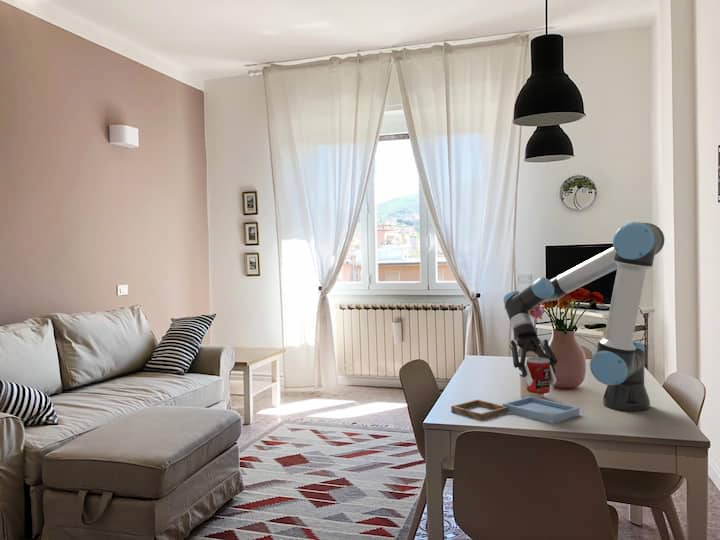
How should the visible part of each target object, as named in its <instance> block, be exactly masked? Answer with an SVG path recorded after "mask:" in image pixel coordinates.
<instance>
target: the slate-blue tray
mask: <svg viewBox="0 0 720 540" xmlns="http://www.w3.org/2000/svg"><path fill="white" fill-rule="evenodd" d="M502 406H506V407H508V413H510V414H514V415H517V416H521V417H525V418H528V417H529V418H528V419H532V418H533V420H536V419H537V421H540V422H544V423H548V424H551V423H553V424H556V423H559V422H562V421H565V420H564V419H566V420H568V418H569V419H571V417H572V418H574V416H575V417H578V416H580V407H579V406H578V407H577V406H573V405H568V404H564V403H561V402H560V403H559V402H555V401H550V400H546V399H544V398H542V399H539V398H534V397H526V398H520V399H516V400H512V401H508V402H504V403H502ZM577 415H578V416H577ZM561 420H562V421H561ZM558 421H559V422H558ZM555 422H556V423H555Z"/></svg>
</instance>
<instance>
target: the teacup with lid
mask: <svg viewBox="0 0 720 540" xmlns="http://www.w3.org/2000/svg"><path fill="white" fill-rule="evenodd" d="M519 378H520V380H519V389H520V390H519V393H520V394H519V395H520V397H521V399H523V398H526V397H534V398H539V399H544V397H545V394H536V393H531V392H528V391H527V380H526V377H525V376H523V375H522V372H521V371H520V372H519Z"/></svg>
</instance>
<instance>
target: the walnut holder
mask: <svg viewBox="0 0 720 540" xmlns="http://www.w3.org/2000/svg"><path fill="white" fill-rule="evenodd" d="M475 406H476V407H481V408H485V409H488V408H489V410H488V411H484V412H482V413H480V412H478V411H473V410H470V408H471V407H472V408H476V407H475ZM450 411H451V413H454V414H458V415H461V416H464V417H468V418H471V419H476V420H479V421H484V420H488V419H491V417H492V418H495V417H498V416H501V415H502V416H503V415H505V414H508V413H509V412H508V407H506V406H503V404H497V403H494V402H489V401H485V400H481V399H474V400H470V401H468V402H462V403H458V404H455V405H451V410H450Z"/></svg>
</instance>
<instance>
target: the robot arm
mask: <svg viewBox="0 0 720 540" xmlns="http://www.w3.org/2000/svg"><path fill="white" fill-rule="evenodd" d="M664 245H665V234H664V232H663V231H662V229H661V228H660V227H658V225H655V224H653V223H649V222H642V221H641V222H640V221H639V222H638V221H634V222H633V221H632V222H629V223H626V224H624V225H622V226H620V227H618V229H617V230H616V232H615V233H614V235H613V237H612V247H610V248H608V249H606V250H604V251H603V252H600V253H598V254H596V255H594V256H592V257H591V258H589V259H587V260H585V261H583V262H582V263H579V264H577V265H576V266H574V267H572V268H570V269H568V270H566V271H564V272H563V273H560V274H558V275H557V276H555V277H552V278H551V279H548V278H546V277H545V276H541V277H539V278H538V279H536V280H534V281H533V282H532V283H530V284H529V285H528V286H527V287H525V288H524V289H523V290H522V291H519V290H512V291H511V292H507V293H506V294H505V295H504V297H503V305H504V308H505V309H504V310H505V311H506V314H507V317H508V319H509V322H510V326H511V329H512V331H513V335H514V337H515V340H510V343H509V348H510V349H511V355H512V363H513V368H515V369H516V368H517V369H518V370H519V371H520V372H522V375H523V376H525V377H526V380H527V383H528V386H531V384H532V382H533V380H532V377H531V374H530V371H529V368H528V366H527V365H526V360H527V358H526V357H527V352H533V353H534V354H535V355H537V356H538V357H541V358H547V359H549V360H550V385H551V386H554V385H556V382H557V378H556V375H555V374H556V369H555V366H556V365H557V363H558V360H557V358H556V356H555V354H554V353H553V350H552V348H551V347H550V345H549V340H548V339H544V340H541V339H540V338H539V337H538V334H537V331H536V328H535V325H534V322H533V321H532V316H531V315H530V311H531V310H533V309H535V308H536V307H537V306H539V305H540V304H541V303H545V302H551V301H552V302H553V301H557V300H560V299H561V298H563V297H564V296H565V295H568V294H569V293H571V292H573V291H575V290H577V289H580V288H582V287H583V286H585V285H588V284H590V283H591V282H593V281H596V280H597V279H600V278H601V277H603V276H605V275H607V274H610V273H612V272H614V271H616V274H615V277H614V278H615V279H614V284H613V289H612V295H611V299H610V306H609V310H608V315H607V321H606V326H605V331H604V335H603V337H601V338H599V339H598V343H597V349H596V353H594V354H593V356H592V357H591V359H590V361H589V369H590V372H591V374H592V376H593V377H594V379H595V380H597V381H598V382H599V383H601V384H603V385H606V388H605V391H604V394H603V397H602V405H603V406H605V407H607V408H609V409H614V410H618V411H626V412H627V411H628V412H642V411H647V410H649V409H650V408H651V401H650V397H649V394H648V392H647V388H646V386H645V354H646V351H645V345H644V343H643V342H639V341H633V338H634V334H635V329H636V324H637V319H638V318H637V317H638V314H639V309H640V304H641V298H642V293H643V288H644V282H645V278H646V273H647V271H648V270H650V269H652V268H653V265H654V259H655V256H656V255H657V254H659V253H660V252H661V251H662V249H663V247H664ZM517 346H518V347H519V348H520V349H521V352H520V360H519V353H518V347H517Z"/></svg>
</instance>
